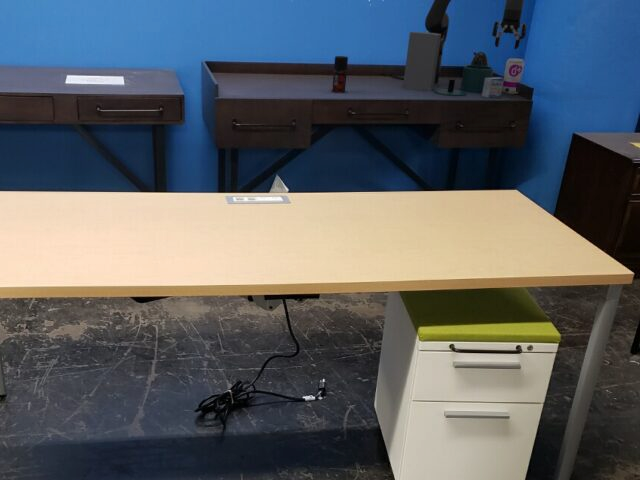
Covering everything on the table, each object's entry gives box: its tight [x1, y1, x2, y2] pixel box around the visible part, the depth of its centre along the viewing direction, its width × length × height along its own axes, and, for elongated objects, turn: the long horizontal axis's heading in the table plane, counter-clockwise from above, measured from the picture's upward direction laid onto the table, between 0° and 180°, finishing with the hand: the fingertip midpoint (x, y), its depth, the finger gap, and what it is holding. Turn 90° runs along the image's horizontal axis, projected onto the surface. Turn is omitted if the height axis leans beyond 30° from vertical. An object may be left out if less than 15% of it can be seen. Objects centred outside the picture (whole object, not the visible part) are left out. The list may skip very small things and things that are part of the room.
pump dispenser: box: [469, 51, 489, 66], centre depth 389 cm, size 10×10×15 cm
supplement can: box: [501, 57, 525, 95], centre depth 371 cm, size 8×8×15 cm
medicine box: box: [481, 76, 504, 98], centre depth 361 cm, size 8×4×9 cm, turn 117°
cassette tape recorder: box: [402, 30, 441, 92], centre depth 368 cm, size 14×6×25 cm, turn 62°
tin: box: [460, 64, 495, 94], centre depth 372 cm, size 14×14×11 cm
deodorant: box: [331, 55, 349, 94], centre depth 359 cm, size 6×6×15 cm
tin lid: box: [434, 78, 467, 97], centre depth 365 cm, size 15×15×7 cm
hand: (506, 47), depth 351 cm, fingers open, 8 cm apart
